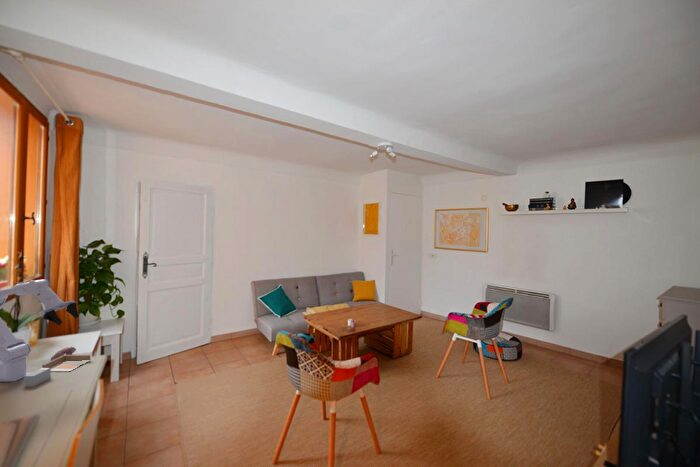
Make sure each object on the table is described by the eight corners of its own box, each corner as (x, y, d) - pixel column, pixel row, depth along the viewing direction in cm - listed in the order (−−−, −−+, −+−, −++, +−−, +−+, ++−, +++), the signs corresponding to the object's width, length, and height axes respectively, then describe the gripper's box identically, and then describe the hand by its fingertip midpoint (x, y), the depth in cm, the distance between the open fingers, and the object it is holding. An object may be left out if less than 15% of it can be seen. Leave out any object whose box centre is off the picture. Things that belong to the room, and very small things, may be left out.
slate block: (24, 386, 138) (24, 375, 138) (42, 378, 146) (42, 367, 145) (33, 386, 138) (33, 375, 138) (50, 378, 146) (50, 367, 146)
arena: (42, 371, 152) (42, 364, 151) (64, 361, 164) (64, 354, 163) (70, 371, 152) (70, 365, 152) (90, 361, 164) (90, 354, 164)
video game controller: (54, 364, 162) (59, 354, 162) (48, 360, 163) (53, 349, 163) (74, 357, 172) (78, 346, 171) (69, 352, 173) (73, 342, 172)
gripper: (37, 300, 136) (57, 321, 136) (70, 290, 151) (88, 309, 151) (29, 309, 138) (49, 331, 138) (63, 298, 152) (81, 318, 152)
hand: (69, 320), depth 144 cm, fingers open, 7 cm apart
